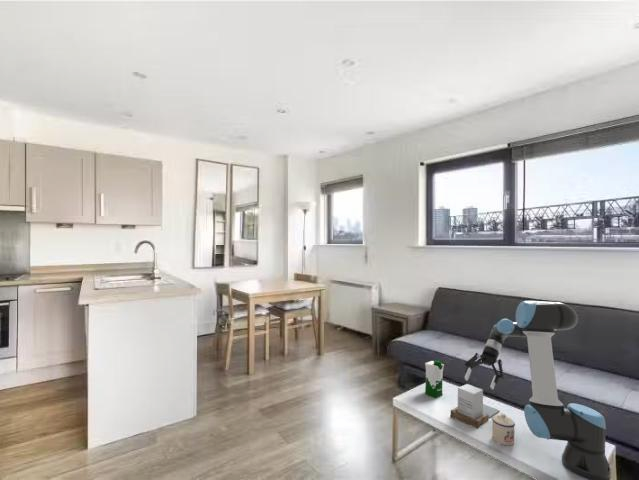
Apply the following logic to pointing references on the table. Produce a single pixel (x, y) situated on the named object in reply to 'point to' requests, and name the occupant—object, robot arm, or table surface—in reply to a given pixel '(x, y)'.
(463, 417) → the walnut cradle
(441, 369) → the milk carton
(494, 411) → the slate mat
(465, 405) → the supplement box
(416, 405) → the table surface
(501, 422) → the teacup with lid
